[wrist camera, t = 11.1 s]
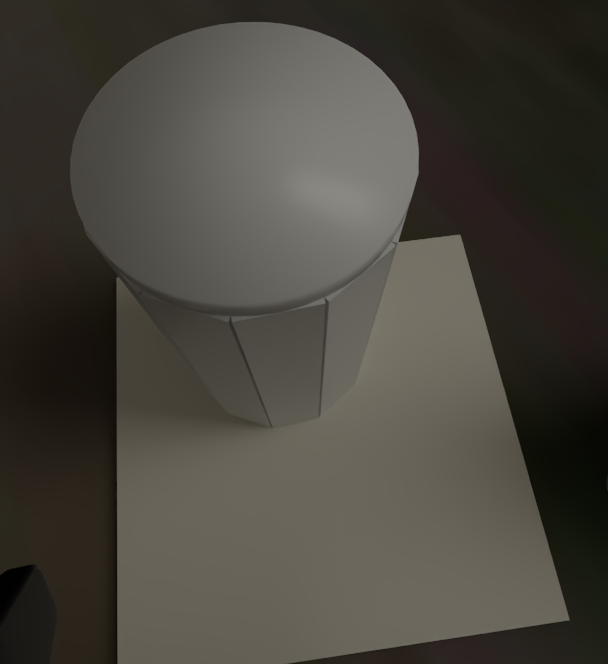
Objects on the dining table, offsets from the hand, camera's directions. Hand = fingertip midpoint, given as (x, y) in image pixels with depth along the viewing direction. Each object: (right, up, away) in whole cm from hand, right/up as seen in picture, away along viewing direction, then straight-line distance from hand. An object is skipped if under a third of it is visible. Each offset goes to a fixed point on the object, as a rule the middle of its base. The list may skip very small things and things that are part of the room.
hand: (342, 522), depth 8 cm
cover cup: (-2, +3, +14) cm, 15 cm away
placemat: (0, -1, +13) cm, 13 cm away
